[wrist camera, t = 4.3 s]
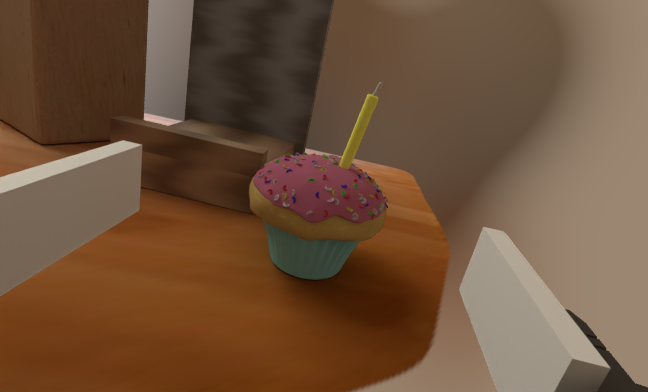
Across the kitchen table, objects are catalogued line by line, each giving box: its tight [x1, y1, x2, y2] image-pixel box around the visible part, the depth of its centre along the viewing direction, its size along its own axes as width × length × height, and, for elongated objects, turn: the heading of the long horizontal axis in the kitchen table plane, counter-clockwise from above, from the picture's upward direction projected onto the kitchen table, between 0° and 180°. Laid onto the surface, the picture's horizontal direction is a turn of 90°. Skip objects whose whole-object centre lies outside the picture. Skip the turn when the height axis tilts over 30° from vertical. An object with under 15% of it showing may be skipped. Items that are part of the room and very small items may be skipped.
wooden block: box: [0, 0, 149, 145], centre depth 37 cm, size 10×10×20 cm
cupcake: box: [249, 82, 388, 280], centre depth 23 cm, size 9×8×12 cm
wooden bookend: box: [110, 0, 334, 214], centre depth 34 cm, size 14×16×22 cm
